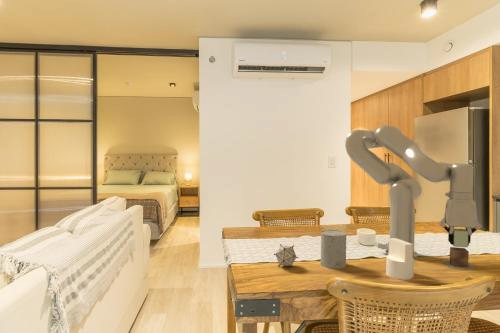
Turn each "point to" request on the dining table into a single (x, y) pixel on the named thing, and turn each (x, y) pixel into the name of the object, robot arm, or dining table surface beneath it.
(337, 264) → the grey cylinder
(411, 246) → the base with upright slab
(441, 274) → the dining table surface
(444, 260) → the build pad
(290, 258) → the grey spiked polyhedron
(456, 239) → the green block
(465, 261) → the walnut block
